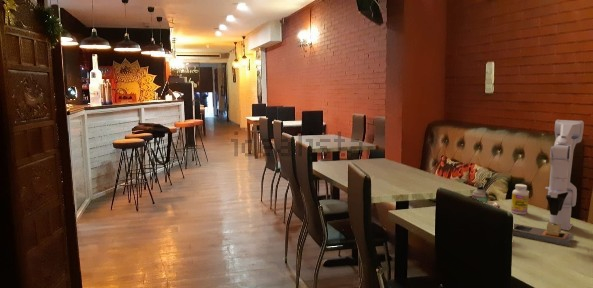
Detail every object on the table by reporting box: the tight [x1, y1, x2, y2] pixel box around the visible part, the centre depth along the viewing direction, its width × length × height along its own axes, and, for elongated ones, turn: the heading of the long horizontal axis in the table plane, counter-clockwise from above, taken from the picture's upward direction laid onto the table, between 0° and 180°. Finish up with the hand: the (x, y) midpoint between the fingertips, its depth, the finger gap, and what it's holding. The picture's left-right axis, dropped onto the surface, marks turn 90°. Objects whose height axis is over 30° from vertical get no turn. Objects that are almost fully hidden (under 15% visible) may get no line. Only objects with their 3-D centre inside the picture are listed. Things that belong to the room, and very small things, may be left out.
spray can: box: [471, 184, 489, 203], centre depth 172 cm, size 6×6×20 cm
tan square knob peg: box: [546, 221, 562, 237], centre depth 170 cm, size 4×4×6 cm
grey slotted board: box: [512, 223, 575, 247], centre depth 174 cm, size 9×22×2 cm, turn 51°
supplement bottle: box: [510, 183, 530, 215], centre depth 205 cm, size 7×7×13 cm
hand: (555, 212), depth 170 cm, fingers open, 7 cm apart
